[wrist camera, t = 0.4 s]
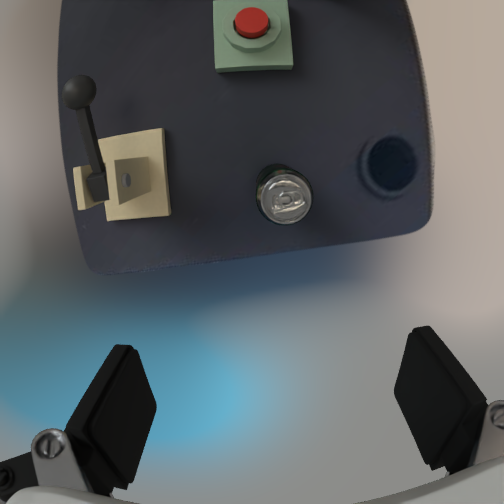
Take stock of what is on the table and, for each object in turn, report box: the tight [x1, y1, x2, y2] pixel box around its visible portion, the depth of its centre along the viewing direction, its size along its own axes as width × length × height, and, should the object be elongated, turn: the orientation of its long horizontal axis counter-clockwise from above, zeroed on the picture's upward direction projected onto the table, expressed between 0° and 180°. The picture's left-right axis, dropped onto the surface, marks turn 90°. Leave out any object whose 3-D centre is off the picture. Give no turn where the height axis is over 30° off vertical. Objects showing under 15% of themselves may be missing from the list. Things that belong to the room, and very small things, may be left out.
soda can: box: [256, 164, 313, 225], centre depth 31 cm, size 5×5×12 cm
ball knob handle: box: [62, 75, 110, 202], centre depth 24 cm, size 13×3×3 cm, turn 3°
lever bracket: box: [73, 128, 171, 221], centre depth 31 cm, size 11×9×11 cm
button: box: [235, 7, 268, 38], centre depth 26 cm, size 4×4×2 cm
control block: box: [213, 0, 293, 73], centre depth 28 cm, size 10×9×4 cm
